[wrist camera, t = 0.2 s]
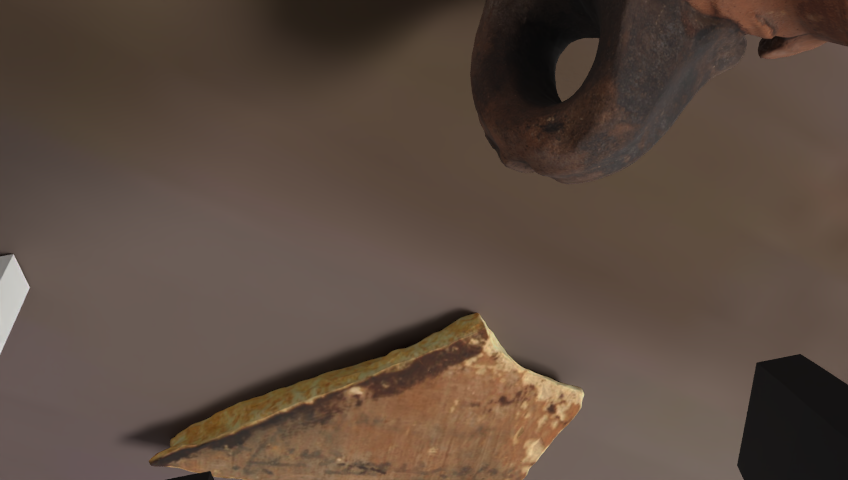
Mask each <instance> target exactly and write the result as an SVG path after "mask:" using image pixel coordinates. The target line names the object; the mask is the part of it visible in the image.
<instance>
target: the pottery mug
mask: <svg viewBox="0 0 848 480" xmlns="http://www.w3.org/2000/svg"><path fill="white" fill-rule="evenodd" d="M746 34H750V35H755V36H758V37H761V38H762V39H761V41H760V42H759V47H758V54H759V56H760V58H765V59H775V58H781V57H787V56H791V55H795V54H798V53H800V52H803V51H807V50H811V49H814V48H816V47H818V46H820V45H822V44H824V43H826V42H832V43H836V44H840V45H844V46H848V0H487V1H486V3H485V6H484V10H483V14H482V17H481V20H480V24H479V27H478V30H477V33H476V37H475V42H474V48H473V52H472V60H471V72H470V76H471V87H472V94H473V100H474V103H475V107H476V110H477V113H478V117H479V121H480V124H481V126H482V127H483V129H484V132H485V136H486V138H487V140H488V141H489V143H490V145H491V146H492V148H493V149H495V150H496V151H497V153H498V156H499V158H500V160H501V162H502V163H503V164H504V165H505V166H506V167H508V168H511V169H513V170H516V171H519V172H524V173H531V172H534V171H535V172H536V173H538V174H540V175H542V176H548V177H551V178H553V179H555V180H556V181H558V182H561V183H565V184H576V183H583V182H589V181H594V180H597V179H600V178H602V177H606V176H609V175H611V174H614V173H616V172H619V171H621V170H622V169H624V168H626V167H628V166H629V165H631V164H633V163H634V162H635V161H637V160H638V159H639V158H640V157H642V156H643V155H644V154H645V153H646V152H647V151H649V150H650V149H651V148H652V147H653V146H654V145H655V143H656V142H657V141H658V140H659V139H660V138H661V137H662V136H663V135H664V134H665V133H666V132H667V130H668V129H669V128H670V127H671V126H672V125H673V124H674V122H675V121H676V119H677V118H678V116H679V115H680V114H681V112H682V111H683V110H684V108H685V107H686V106H687V104H688V103H689V102H690V101H691V99H692V98H693V96H694V95H695V94H696V93H697V92H698V91H699V89H700V88H701V87H702V86H703V85H704V84H706V83H707V82H708V81H709V80H711V79H712V78H713V77H715V76H717V75H719V74H720V73H722V72H724V71H727V70H730V69H732V68H733V67H735V66H736V65H737V64H738V63H739V62H740V60H741V59H742V58H743V56H744V53H745V50H746V46H747V40H746V38H745V36H744V35H746ZM582 38H600V39H599V45H598V50H597V54H596V57H595V61H594V63H593V65H592V68H591V70H590V72H589V74H588V76H587V77H586V79H585V81H584V82H583V84H582V86H581V87H580V88H579V89H578V90H577V91H576V93H575V94H574V95H573V96H571V97H570V98H569V99H567V100H565V101H563V102H561V100H560V98H559V96H558V94H557V90H556V81H555V69H556V63H557V61H558V58H559V56H560V54H561V53H562V52H563V51H564V49H565V48H566V47H567V46H568V45H569V44H570V43H571V42H574V41H576V40H578V39H582Z"/></svg>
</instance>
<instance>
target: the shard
mask: <svg viewBox="0 0 848 480" xmlns="http://www.w3.org/2000/svg"><path fill="white" fill-rule="evenodd" d="M583 397H584V393H583V391H582V389H581V388H579V387H577V386H573V385H568V384H564V383H560V382H557V381H555V380H554V379H552V378H549V377H547V376H543V375H539V374H537V373H534V372H533V371H531V370H529V369H525V368H523V367H522V366H520V365H518V364H517V363H516V362H515V361H514V360H513V359H512V358H511V357H510V356H509V355H508V354H507V353H506V351H505V350H504V348H503V347H502V346H501V345H500V344H499V342H498V340H497V339H496V337H495V336H494V333H493V332H492V331H491V330H490V329H489V328H488V327H487V325H486V323H485V321H484V320H483V319H482V318H481V316H480V315H479V313H474V314H471V315H467V316H464V317H461V318H459V319H458V320H456V321H455V322H453V323H452V324H450V325H449V326H447V327H446V328H444V329H443V330H441V331H439V332H435V333H433V334H431V335H430V336H428V337H426V338H425V339H423V340H422V341H420V342H419V343H417V344H415V345H412V346H410V347H407V348H403V349H397V350H394V351H391V352H390V353H389V354H388V355H386V356H383V357H380V358H377V359H372V360H369V361H365V362H363V363H360V364H357V365H355V366H350V367H346V368H343V369H339V370H334V371H330V372H327V373H324V374H321V375H319V376H317V377H315V378H311V379H308V380H303V381H300V382H298V383H296V384H294V385H292V386H289V387H286V388H285V387H283V388H280V389H277V390H274V391H271V392H269V393H267V394H265V395H263V396H259V397H254V398H252V399H250V400H246V401H242V402H239V403H237V404H235V405H233V406H231V407H228V408H226V409H225V410H222V411H220V412H217V413H215V414H214V415H213V416H211V417H210V418H208V419H206V420H203V421H201V422H198V423H194V424H192V425H190V426H189V427H188V428H186V429H185V430H183V431H181V432H180V433H179V434H177V435H176V437H174V438H172V439H171V440H170V448H168V449H166V450H164V451H161V452H159V453H157V454H156V455H155V456H154V457H152V458H151V459H150V460H149V463H150V465H151V466H164V467H175V468H181V469H184V470H187V471H191V472H197V473H202V472H207V471H211V474H212V476H215V477H223V478H235V479H243V480H523V479H524V478H525V476H526V475H527V473H528V470H529V468H530V467H531V466H532V465H533V464H534V463H536V462H537V460H538V459H539V457H540V456H541V455H542V454H543V453H544V451H545V450H546V449H547V447H548V446H549V445H550V443H551V442H552V441H553V439H554V438H555V437H556V436H557V435H558V434H559V433H560V432H561V431H562V430H563V428H565V427H566V426H567V425H568V424H569V423H570V421H571V420H572V419H573V418H574V417H575V415H576V414H577V413H578V411H579V410H580V409H581V407H582V399H583Z"/></svg>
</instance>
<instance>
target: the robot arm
mask: <svg viewBox="0 0 848 480" xmlns="http://www.w3.org/2000/svg"><path fill="white" fill-rule="evenodd" d="M737 466H738V468H739V470H740V472H741V474H742V477H743V479H744V480H848V385H847V384H846V383H844V382H843V381H841V380H840V379H838V378H837V377H835V376H834V375H832V374H831V373H829V372H828V371H826V370H824V369H823V368H821V367H820V366H818V365H817V364H815V363H814V362H812V361H810V360H809V359H807V358H806V357H804V356H803V355H801V354H798V355H793V356H788V357H783V358H778V359H773V360H768V361H763V362H758V363H757V364H756V369H755V374H754V380H753V385H752V390H751V396H750V401H749V406H748V411H747V417H746V422H745V427H744V432H743V438H742V443H741V448H740V454H739V459H738V464H737ZM167 480H214V479H213V476H212V474H211V471H207V472H202V473H197V474H192V475H187V476H182V477H177V478H172V479H167Z"/></svg>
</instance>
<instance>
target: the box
mask: <svg viewBox="0 0 848 480" xmlns="http://www.w3.org/2000/svg"><path fill="white" fill-rule="evenodd" d="M29 288H30V287H29V285H28V283H27V281H26V279H25V277H24V275H23V273H22V270H21V268H20V266H19V264H18V262H17V260H16V258H15V256H14V254H12V255H6V256H0V353H1V351H2V349H3V347H4V344H5V342H6V340H7V338H8V335H9V333H10V331H11V329H12V326H13V324H14V322H15V320H16V317H17V315H18V313H19V311H20V308H21V306H22V304H23V302H24V299H25V297H26V295H27V293H28V290H29Z"/></svg>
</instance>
